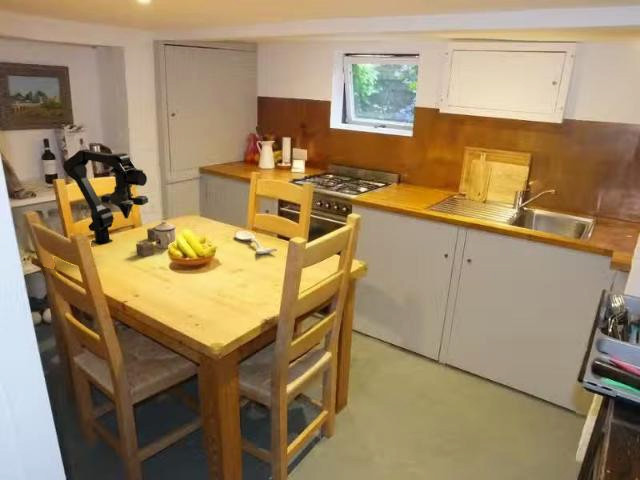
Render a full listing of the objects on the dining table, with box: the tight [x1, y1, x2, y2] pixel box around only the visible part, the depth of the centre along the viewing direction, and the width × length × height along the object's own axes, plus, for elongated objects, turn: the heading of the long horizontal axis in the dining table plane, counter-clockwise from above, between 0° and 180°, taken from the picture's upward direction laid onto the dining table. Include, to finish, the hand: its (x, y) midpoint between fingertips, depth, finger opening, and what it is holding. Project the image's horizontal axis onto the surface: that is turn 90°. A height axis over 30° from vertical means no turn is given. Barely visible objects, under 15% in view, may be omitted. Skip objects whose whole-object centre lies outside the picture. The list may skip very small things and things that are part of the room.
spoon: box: [234, 230, 278, 255], centre depth 215 cm, size 9×32×4 cm, turn 31°
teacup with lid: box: [154, 220, 176, 250], centre depth 207 cm, size 12×9×12 cm
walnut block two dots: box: [135, 240, 155, 259], centre depth 198 cm, size 5×5×5 cm
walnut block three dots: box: [146, 226, 156, 242], centre depth 217 cm, size 5×5×5 cm
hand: (126, 218), depth 203 cm, fingers closed
